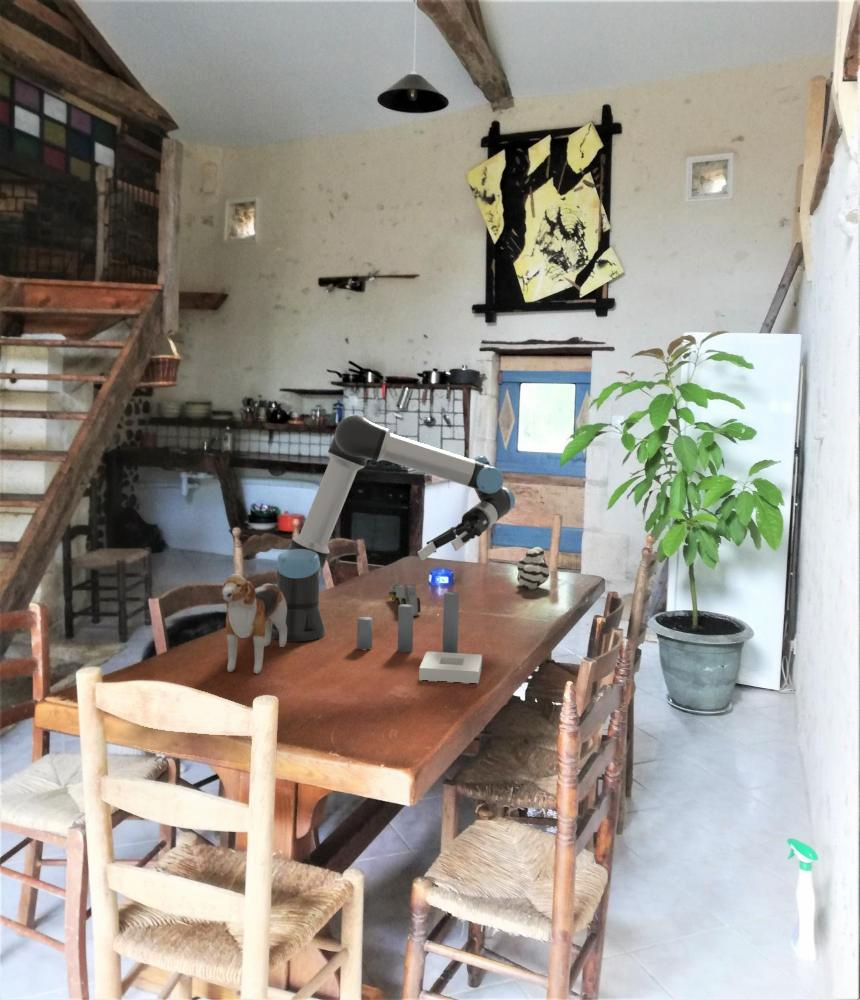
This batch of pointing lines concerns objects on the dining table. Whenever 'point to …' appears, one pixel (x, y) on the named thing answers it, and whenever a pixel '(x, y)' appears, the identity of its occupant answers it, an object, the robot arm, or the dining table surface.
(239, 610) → the dog model
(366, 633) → the short dowel
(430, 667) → the block
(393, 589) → the toy
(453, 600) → the tall dowel
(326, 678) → the dining table surface
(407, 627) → the medium dowel
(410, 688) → the dining table surface
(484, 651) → the dining table surface
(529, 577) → the sculpture
